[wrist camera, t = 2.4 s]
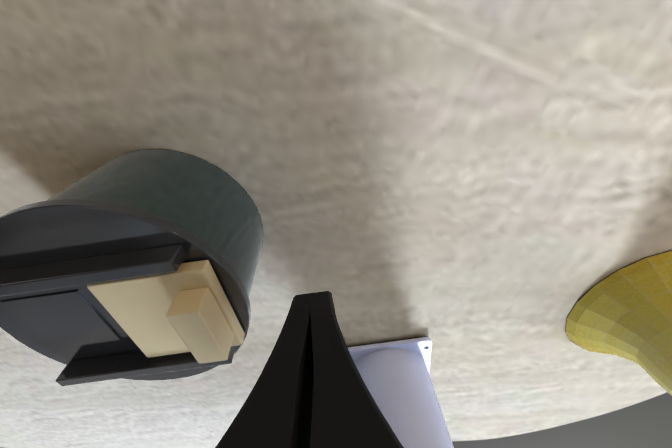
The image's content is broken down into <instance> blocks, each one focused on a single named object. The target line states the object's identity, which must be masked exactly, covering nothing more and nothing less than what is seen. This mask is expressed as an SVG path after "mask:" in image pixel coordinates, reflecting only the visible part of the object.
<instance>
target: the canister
mask: <svg viewBox="0 0 672 448" xmlns="http://www.w3.org/2000/svg"><path fill="white" fill-rule="evenodd" d="M263 235H264V234H263V225H262V221H261V217H260V215H259V212H258V210H257V207H256V206H255V204H254V202H253V201H252V199H251V197H250V196H249V195H248V194H247V192H246V191H245V190H244V189H243V188H242V187H241V185H240V184H239V183H238V182H237V181H235V180H234V179H233V178H232V177H231V176H229V175H228V174H227V173H226V172H224V171H222V170H221V169H219V168H218V167H216V166H215V165H213V164H211V163H209V162H207V161H205V160H203V159H200V158H197V157H195V156H192V155H189V154H185V153H182V152H178V151H171V150H165V149H145V150H137V151H132V152H128V153H125V154H123V155H120V156H117V157H115V158H114V159H112V160H110V161H109V162H107V163H106V164H104V165H102V166H101V167H99V168H97V169H96V170H94V171H93V172H91V173H89V174H88V175H86V176H85V177H83V178H81V179H80V180H78V181H77V182H75V183H73V184H72V185H70V186H69V187H67V188H65V189H64V190H62V191H61V192H59V193H57V194H56V195H54V196H52V197H51V198H49V199H48V200H46V201H42V202H38V203H33V204H29V205H25V206H23V207H20V208H17V209H15V210H12V211H10V212H8V213H6V214H5V215H3V216H1V217H0V327H1V328H2V329H3V330H5V331H6V332H7V333H9V334H10V335H11V336H13V337H14V338H15V339H17V340H18V341H20V342H21V343H23V344H25V345H26V346H28V347H29V348H31V349H33V350H35V351H37V352H39V353H41V354H43V355H45V356H47V357H49V358H52V359H54V360H56V361H58V362H61V363H64V364H66V365H67V366H66V367H65V368H64V370H63V371H62V372H61V374H60V375H59V376H58V378H57V379H56V382H58V383H59V384H60V385H61V386H66V385H73V384H81V383H88V382H96V381H103V380H111V379H118V378H124V379H133V380H167V379H177V378H183V377H188V376H192V375H196V374H200V373H202V372H205V371H208V370H210V369H212V368H214V367H216V366H218V365H223V364H230V363H232V359H233V355H234V353H236V351H237V350H238V349H239V347H240V346H241V345H238V346H231V348H230V352H229V355H228V359H227V360H224V361H216V362H209V363H201V364H200V363H198V362H197V360H196V359H195V357H194V356H193V354H192V353H191V352H186V353H179V354H171V355H164V356H157V357H149V358H148V357H146V355H145V354H144V353H143V352H142V351H141V350H140V348H139V347H138V346H137V345H136V344H135V343H134V341H133V340H132V339H131V338H130V337H129V336H128V334H127V333H126V332H125V331H124V330H123V329H122V327H121V326H120V325H119V324H118V323H117V322H116V320H115V319H114V318H113V317H112V316H111V315H110V313H109V312H108V311H107V310H106V309H105V308H104V306H103V305H102V304H101V303H100V302H99V301H98V299H97V298H96V297H95V296H94V295H93V293H92V292H91V291H90V290H89V289H88V288H87V285H88V284H90V283H97V282H104V281H111V280H119V279H126V278H133V277H140V276H147V275H154V274H161V273H168V272H175V271H177V270H178V269H179V267H180V265H181V264H182V263H188V262H195V261H202V260H209V262H210V264H211V266H212V268H213V270H214V272H215V274H216V277H217V279H218V281H219V283H220V285H221V287H222V289H223V291H224V293H225V295H226V297H227V299H228V301H229V303H230V305H231V307H232V309H233V311H234V313H235V315H236V317H237V319H238V321H239V323H240V325H241V327H242V329H243V331H244V333H245V336H244V339H245V337H246V335H247V331H248V327H249V323H250V315H251V309H250V302H249V296H250V292H251V288H252V284H253V280H254V276H255V272H256V268H257V264H258V260H259V256H260V252H261V248H262V244H263ZM243 341H244V340H243Z"/></svg>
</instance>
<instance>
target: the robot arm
mask: <svg viewBox="0 0 672 448" xmlns="http://www.w3.org/2000/svg"><path fill="white" fill-rule="evenodd" d="M431 349H432V341H431V339H430V338H428V337H422V338H415V339H407V340H400V341H392V342H385V343H377V344H370V345H362V346H355V347H347V345H346V343H345V340H344V338H343V335H342V333H341V330H340V328H339V325H338V322H337V319H336V314H335V309H334V304H333V298H332V293H331V292H329V291H324V292H317V293H310V294H302V295H296V296H295V297H294V298H293V301H292V304H291V307H290V310H289V313H288V316H287V318H286V321H285V324H284V326H283V329H282V331H281V333H280V335H279V338H278V340H277V342H276V345H275V347H274V349H273V351H272V353H271V355H270V357H269V359H268V361H267V363H266V365H265V367H264V369H263V371H262V373H261V375H260V377H259V379H258V381H257V382H256V384H255V386H254V388H253V390H252V391H251V393H250V395H249V396H248V398H247V400H246V402H245V403H244V405H243V407H242V408H241V410H240V411H239V413H238V414H237V416H236V418H235V419H234V421H233V422H232V424H231V425H230V427H229V428H228V430H227V431H226V433H225V434H224V436H223V437H222V439H221V440H220V442H219V443H218V445H217V446H216V447H215V448H454V447H453V444H452V441H451V438H450V435H449V432H448V429H447V426H446V423H445V420H444V417H443V414H442V411H441V408H440V405H439V402H438V399H437V396H436V393H435V390H434V387H433V384H432V381H431V378H430V375H429V373H430V361H431Z"/></svg>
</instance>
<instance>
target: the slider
mask: <svg viewBox="0 0 672 448" xmlns="http://www.w3.org/2000/svg"><path fill="white" fill-rule="evenodd" d="M87 288H88V289H89V290H90V291H91V292H92V293H93V295H94V296H95V297H96V298H97V299H98V301H99V302H100V303H101V304H102V305H103V306H104V308H105V309H106V310H107V311H108V312H109V313H110V315H111V316H112V317H113V318H114V319H115V320H116V322H117V323H118V324H119V325H120V326H121V327H122V329H123V330H124V331H125V332H126V333H127V334H128V336H129V337H130V338H131V339H132V340H133V341H134V343H135V344H136V345H137V346H138V347H139V348H140V350H141V351H142V352H143V353H144V354H145V355H146V357H148V358H149V357H157V356H164V355H171V354H179V353H186V352H191V353H192V354H193V356H194V357H195V359H196V360H197V362H198V363H200V364H201V363H209V362H216V361H224V360H227V359H228V355H229V352H230V348H231V346H238V345H242V344H243V340H244V336H245V333H244V331H243V329H242V327H241V325H240V323H239V321H238V319H237V317H236V315H235V313H234V311H233V309H232V307H231V305H230V303H229V301H228V299H227V297H226V295H225V293H224V291H223V289H222V287H221V285H220V283H219V281H218V279H217V277H216V274H215V272H214V270H213V268H212V266H211V264H210V262H209V260H202V261H195V262H188V263H182V264H181V265H180V267H179V269H178V270H177V271H175V272H168V273H161V274H154V275H147V276H140V277H133V278H126V279H119V280H111V281H104V282H97V283H90V284H88V285H87Z"/></svg>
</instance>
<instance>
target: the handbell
mask: <svg viewBox="0 0 672 448" xmlns="http://www.w3.org/2000/svg"><path fill="white" fill-rule="evenodd" d="M565 331H566V333H567V335H568V337H569V339H570V341H571V342H573V343H575V344H577V345H578V346H580V347H582V348H584V349H586V350H588V351H592V352H598V353H605V354H612V355H617V356H620V357H622V358H625V359H628V360H630V361H633V362H635V363H637V364H639V365H640V366H641V367H642V368H643V369H644V370H645V371H646V372H647V373H648V374H649V375H650V376H651V377H652V378H653V379H654V380H655V381H656V382H657V383H658V384H659V385H660V386H661V387H663V388H664V389H665V390H666V391H667V392H668V393H669V394H670V395H672V251H670V252H666V253H662V254H658V255H655V256H651V257H647V258H645V259H642V260H640V261H638V262H636V263H634V264H631V265H629V266H627V267H625V268H622V269H620V270H618V271H617V272H615V273H613V274H612V275H610V276H609V277H607V278H606V279H604V280H603V281H601V282H600V283H598V284H597V285H595V286H594V287H593V288H592V289H591V290H590V291H589V292H587V293H586V294H585V295H584V296H583V297H582V298H581V299H580V300H579V301H578V302H577V303H576V305H575V306H574V308H573V310H572V311H571V313H570V314H569V316H568V318H567V323H566V329H565Z"/></svg>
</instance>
